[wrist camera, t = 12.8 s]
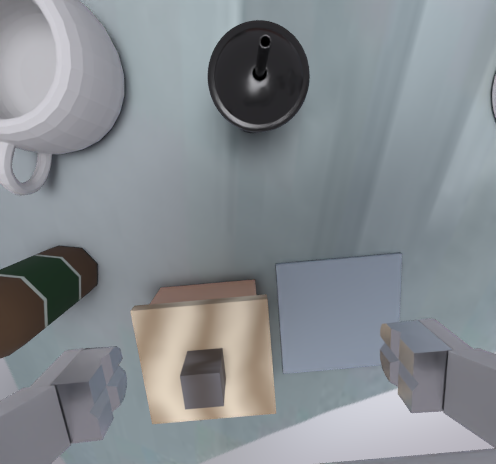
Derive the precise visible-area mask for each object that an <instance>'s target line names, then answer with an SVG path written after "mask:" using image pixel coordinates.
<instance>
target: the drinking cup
mask: <svg viewBox="0 0 496 464" xmlns="http://www.w3.org/2000/svg"><path fill="white" fill-rule="evenodd" d="M309 78H310V75H309V65H308V60H307V57H306V54H305V52H304V50H303V48H302V46H301V44H300V43H299V41H298V40H297V39H296V38H295V36H294V35H293V34H292V33H290V32H289V31H288V30H287V29H285V28H284V27H282V26H280V25H278V24H275V23H273V22H269V21H262V20H256V21H249V22H245V23H242V24H240V25H238V26H236V27H234V28H232V29H231V30H230V31H228V32H227V33H226V34H225V35H224V36H223V37H222V38H221V39H220V41H219V42H218V43H217V45H216V47H215V49H214V51H213V53H212V55H211V58H210V62H209V67H208V86H209V91H210V94H211V97H212V100H213V102H214V104H215V106H216V108H217V109H218V111H219V112H220V113H221V115H222V116H223V117H224V118H225V119H226V120H227V121H228V122H230V123H231V124H232V125H234V126H236V127H238V128H240V129H242V130H243V131H246V132H249V133H256V132H267V131H271V130H274V129H277V128H279V127H281V126H283V125H284V124H286V123H287V122H288V121H289V120H291V119H292V118H293V117H294V116H295V114H296V113H297V112H298V111H299V109H300V108H301V106H302V104H303V102H304V100H305V98H306V95H307V91H308V87H309Z"/></svg>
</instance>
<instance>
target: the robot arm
mask: <svg viewBox="0 0 496 464" xmlns="http://www.w3.org/2000/svg"><path fill="white" fill-rule="evenodd" d="M492 103H493V110H494V114H495V117H496V76H495V79H494V84H493V91H492ZM380 337H381V338H382V339H383V340H384V342H385V343H384V344H383V345H382V347H381V348H380V361H381V365H382V369H383V371H384V373H385V376H386V377H387V379H388V380H389V382H391V383H392V384H394V385H396V386H398V395H399V396H400V398H401V399H402V400H403V402H404V403H405V405H406V406H407V408H408V409H409V410H410V412H411V413H421V412H438V411H444V413H445V414H446V415H448V416H449V417H450V418H452V419H453V420H455V421H456V422H458V423H459V424H461V425H462V426H464V427H465V428H467V429H468V430H470V431H471V432H473V433H474V434H475V435H477V436H478V437H480V438H481V439H483V440H484V441H486V442H487V443H489V444H490V445H492V446H493V447H495V448H494V449H483V450H472V451H461V452H450V453H438V454H427V455H415V456H404V457H391V458H381V459H380V458H379V459H368V460H356V461H344V462H332V463H321V464H496V354H494V353H491V352H488V351H485V350H482V349H480V348H476V349H473V348H472V347H471V346H469V345H468V344H467V343H465V342H464V341H463V340H462V339H460V338H459V337H458V336H456V335H455V334H454V333H453V332H451V331H450V330H449V329H447V328H446V327H445V326H444V325H442V324H441V323H440V322H438V321H437V320H436V319H433V318H426V319H418V320H411V321H402V322H393V323H384V324H382V325H381V328H380ZM122 359H123V358H122V354H121V350H120V348H118V347H117V346H113V347H98V348H85V349H84V348H81V349H72V350H67V351H65V352H64V353H63V354H62V355H61V356H60V357H59V358H58V359H57V360H56V361H55V362H54V363H53V364H52V365H51V366H50V367H49V368H48V369H47V370H46V371H45V372H44V373H43V374H42V375H41V376H40V377H39V378H38V379H37V380H36V381H35V382H34V383H33V384H32V385H31V386H30V387H28V388H23V389H21V390H19V391H17V392H15V393H13V394H12V395H10V396H8V397H6V398H4V399H2V400H1V401H0V464H51V463H52V462H53V461H54V460H55V459H57V458H58V457H59V456H60V455H61V454H62V453H63V452H64V451H65V450H66V449H67V448H68V447H70V445H71V444H72V443H80V442H89V441H97V440H103V438H104V436H105V434H106V432H107V431H108V429H109V427H110V425H111V423H112V421H113V419H114V417H113V413H112V412H113V411H114V410H115V409H117V408H118V407H119V406H120V405H121V403H122V401H123V399H124V397H125V393H126V388H127V377H126V372H125V370H124V369H123V368H121V367H120V366H119V364H120V363H121V361H122Z"/></svg>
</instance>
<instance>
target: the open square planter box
mask: <svg viewBox="0 0 496 464" xmlns="http://www.w3.org/2000/svg"><path fill="white" fill-rule="evenodd" d="M253 295H256V286H255V279H253V280H242V281H230V282H219V283H208V284H196V285H185V286H174V287H162V288H160V290H159V291H158V293H157V294H156V295H155V297H154V298H153V300H152V301H151V303H150V304H161V303H173V302H184V301H196V300H207V299H219V298H230V297H242V296H253ZM150 304H149V305H150Z"/></svg>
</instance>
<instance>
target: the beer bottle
mask: <svg viewBox="0 0 496 464" xmlns="http://www.w3.org/2000/svg"><path fill="white" fill-rule="evenodd" d="M96 285H97V263H96V262H95V261H94V260H93V259H92V258H91V257H90V256H89V255H88V254H87V253H86V252H85V251H84V250H83V249H82V248H74V247H65V246H57V247H54V248H51V249H48V250H46V251H43V252H41V253H39V254H36V255H34V256H32V257H29V258H27V259H25V260H22V261H20V262H17V263H15V264H13V265H10V266H8V267H6V268H3V269H1V270H0V358H3V357H6V356H9V355H10V354H12V353H13V352H15V351H16V350H18V349H19V348H21V347H22V346H23V345H25V344H26V343H27V342H28V341H30V340H31V339H32V338H33V337H35V336H36V335H37V334H38V333H40V332H41V331H42V330H43V329H45V328H46V327H47V326H48V325H49V324H51V323H52V322H53V321H54V320H56V319H57V318H58V317H59V316H61V315H62V314H63V313H64V312H65V311H67V310H68V309H69V308H70V307H72V306H73V305H74V304H75V303H76V302H78V301H79V300H80V299H81V298H83V297H84V296H85V295H86V294H88V293H89V292H90V291H91V290H92V289H93V288H94V287H95V286H96Z"/></svg>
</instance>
